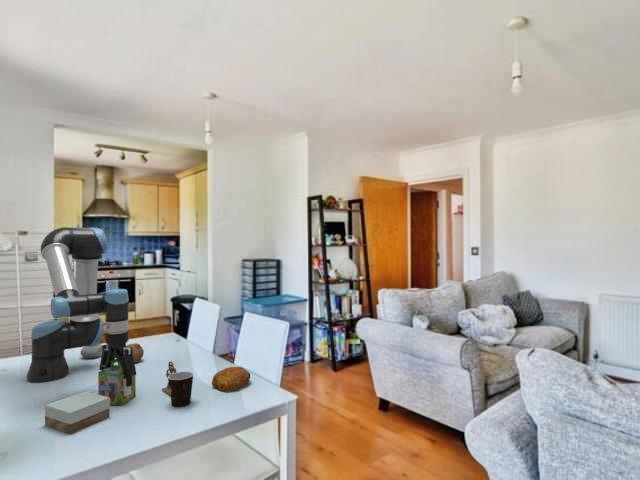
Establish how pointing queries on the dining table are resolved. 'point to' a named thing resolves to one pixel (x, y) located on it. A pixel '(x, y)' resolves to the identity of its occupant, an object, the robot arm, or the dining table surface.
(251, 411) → the dining table surface
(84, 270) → the robot arm
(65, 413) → the grey-green top slab
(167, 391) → the brown scrollwork ornament
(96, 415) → the walnut base slab
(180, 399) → the coffee mug
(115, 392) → the chalk box
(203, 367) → the dining table surface
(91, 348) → the grey rounded lump
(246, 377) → the potato
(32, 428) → the dining table surface
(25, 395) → the dining table surface
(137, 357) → the onion
